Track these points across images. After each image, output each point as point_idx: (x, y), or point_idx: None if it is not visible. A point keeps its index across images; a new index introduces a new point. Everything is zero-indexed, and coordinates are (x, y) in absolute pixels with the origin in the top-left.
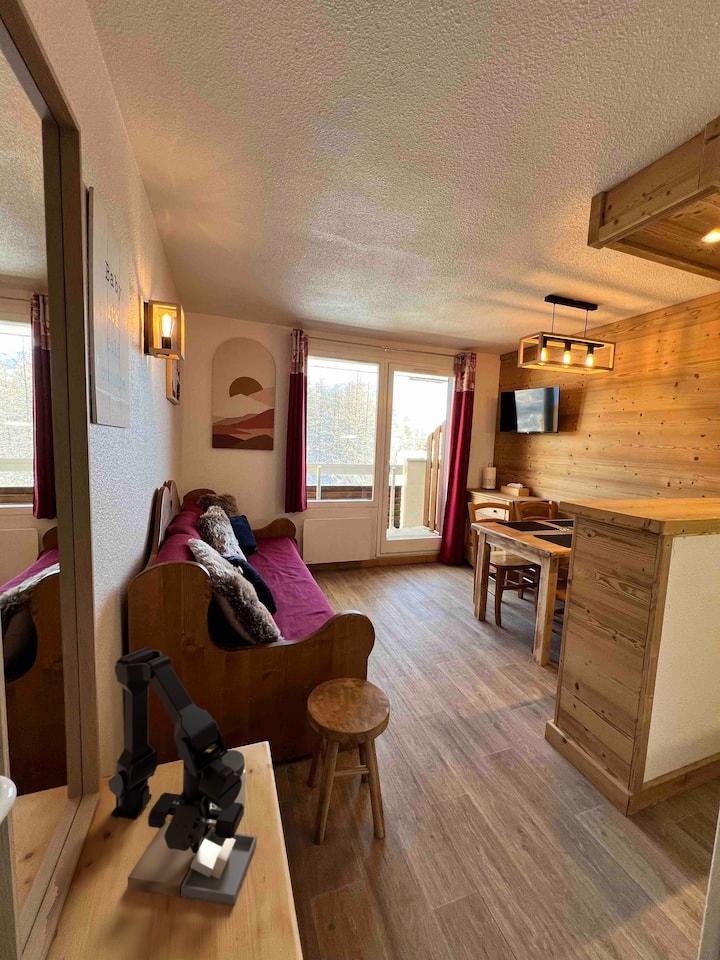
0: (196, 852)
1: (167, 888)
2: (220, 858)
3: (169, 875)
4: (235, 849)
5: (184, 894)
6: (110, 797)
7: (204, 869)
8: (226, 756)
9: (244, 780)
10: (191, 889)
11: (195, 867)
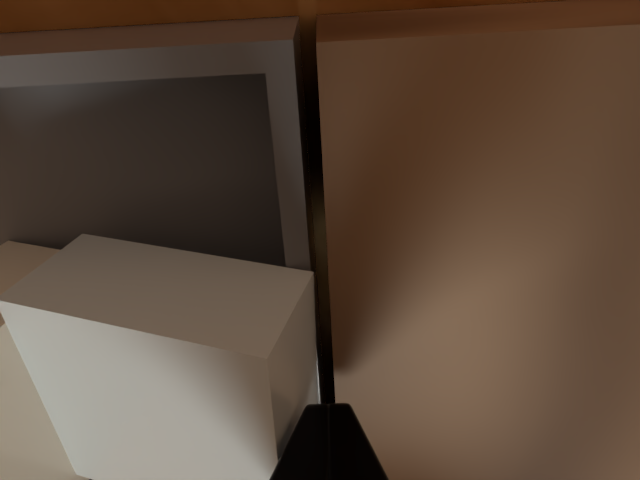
0: (301, 417)
1: (496, 15)
2: None
3: (542, 138)
4: None
5: (247, 22)
6: None
7: (116, 280)
8: None
9: None
10: (127, 44)
11: (242, 281)
